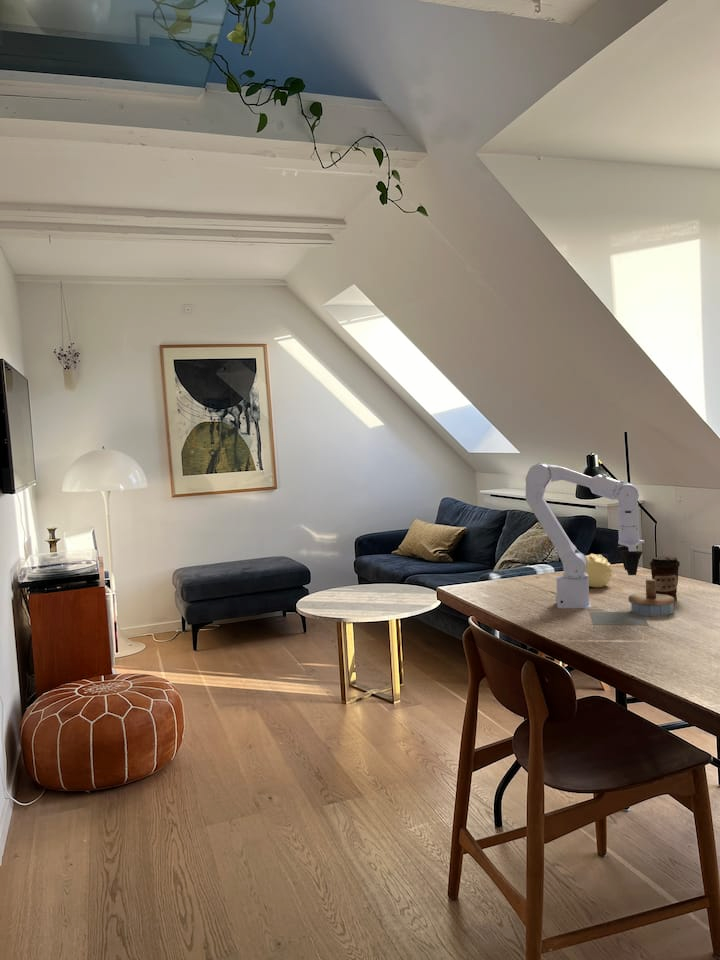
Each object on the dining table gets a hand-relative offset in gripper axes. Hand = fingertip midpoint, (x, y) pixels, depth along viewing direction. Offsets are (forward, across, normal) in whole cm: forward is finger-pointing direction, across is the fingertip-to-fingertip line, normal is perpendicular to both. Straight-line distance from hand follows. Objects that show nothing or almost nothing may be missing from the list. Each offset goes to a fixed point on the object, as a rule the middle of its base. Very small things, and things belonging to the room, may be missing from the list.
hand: (630, 572), depth 221 cm
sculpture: (+11, +31, +8) cm, 34 cm away
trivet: (+10, -14, +5) cm, 18 cm away
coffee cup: (+11, +9, -11) cm, 18 cm away
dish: (+10, -6, -5) cm, 13 cm away
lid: (+7, -6, -5) cm, 10 cm away
